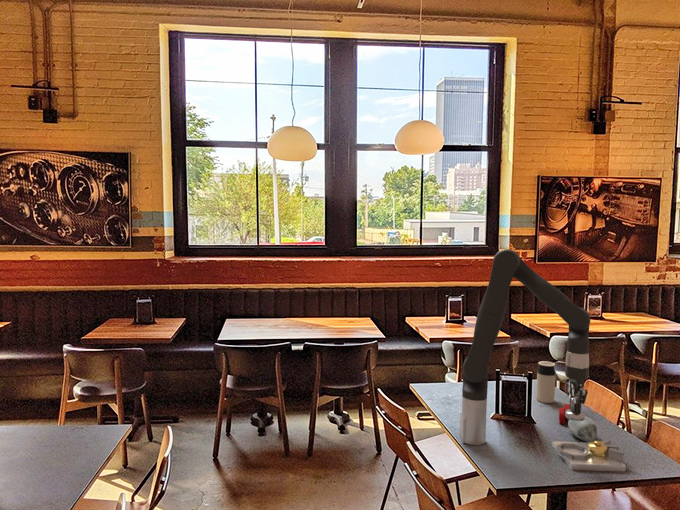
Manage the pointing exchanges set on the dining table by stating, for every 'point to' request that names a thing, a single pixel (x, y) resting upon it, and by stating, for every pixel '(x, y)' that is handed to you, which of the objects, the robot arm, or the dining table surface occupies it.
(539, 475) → the dining table surface
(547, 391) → the travel mug
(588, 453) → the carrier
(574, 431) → the streaked stone egg
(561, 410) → the mechanical linkage
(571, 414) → the silver knob
